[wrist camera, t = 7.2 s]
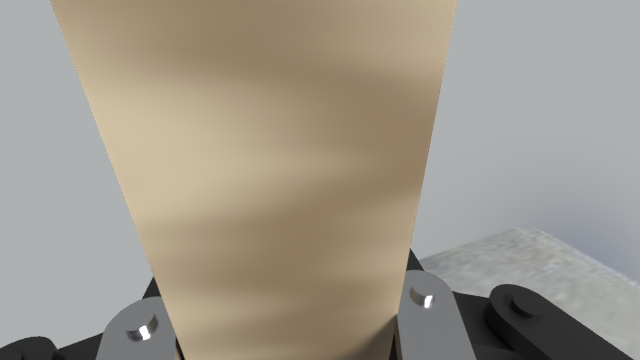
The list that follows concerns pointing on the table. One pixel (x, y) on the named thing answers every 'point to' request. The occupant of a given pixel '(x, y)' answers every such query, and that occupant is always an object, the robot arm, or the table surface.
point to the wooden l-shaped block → (268, 159)
